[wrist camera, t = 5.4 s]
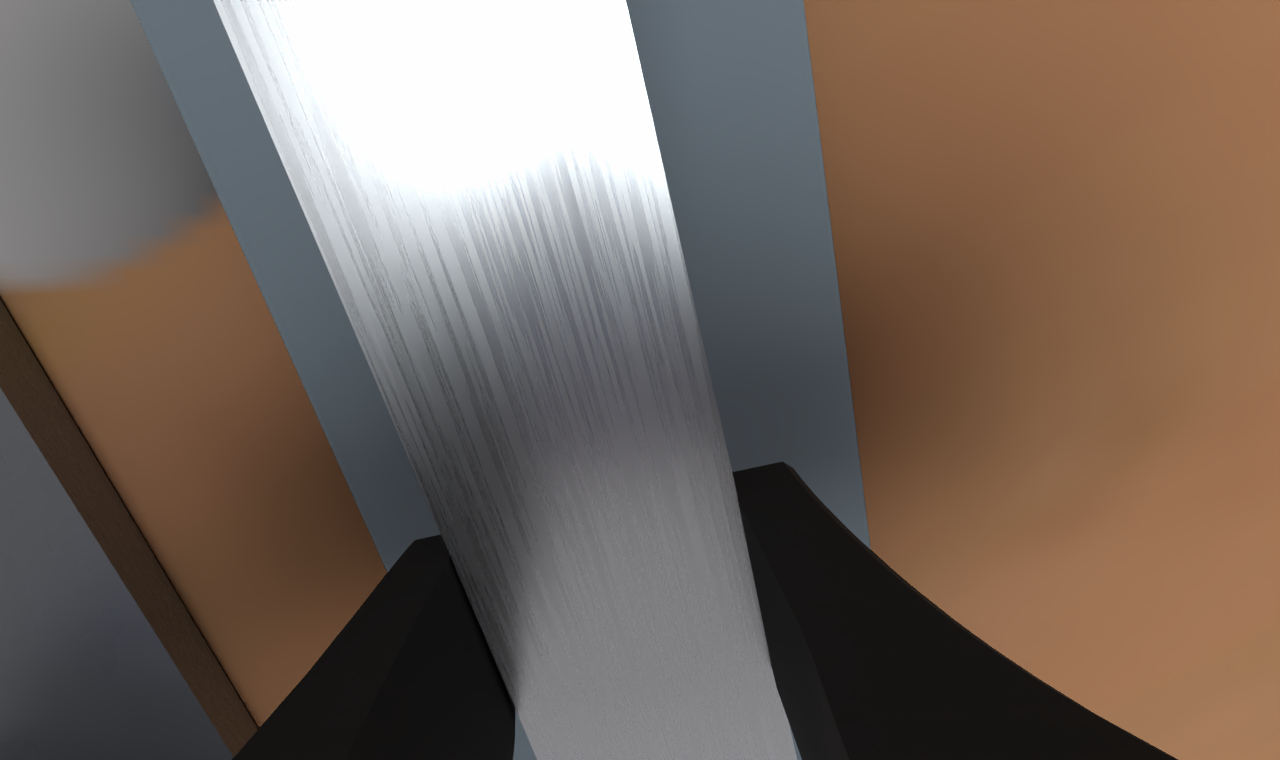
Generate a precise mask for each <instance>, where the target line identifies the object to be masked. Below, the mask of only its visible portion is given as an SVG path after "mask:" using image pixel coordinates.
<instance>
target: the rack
mask: <svg viewBox="0 0 1280 760" xmlns="http://www.w3.org/2000/svg"><path fill="white" fill-rule="evenodd" d="M257 730H258V728H257V727H256V725H255V723H254V722H253V720H252V718H251V717H250V715H249V713H248V712H247V710H246V708H245V707H244V705H243V703H242V702H241V700H240V698H239V697H238V695H237V693H236V692H235V690H234V688H233V687H232V685H231V683H230V682H229V680H228V678H227V677H226V675H225V673H224V672H223V670H222V668H221V667H220V665H219V663H218V662H217V660H216V658H215V657H214V655H213V653H212V652H211V650H210V648H209V647H208V645H207V643H206V642H205V640H204V638H203V637H202V635H201V633H200V632H199V630H198V628H197V627H196V625H195V623H194V622H193V620H192V618H191V617H190V615H189V613H188V612H187V610H186V608H185V607H184V605H183V603H182V602H181V600H180V598H179V597H178V595H177V593H176V592H175V590H174V588H173V587H172V585H171V583H170V582H169V580H168V578H167V577H166V575H165V573H164V572H163V570H162V568H161V567H160V565H159V563H158V562H157V560H156V558H155V557H154V555H153V553H152V552H151V550H150V548H149V547H148V545H147V543H146V542H145V540H144V538H143V537H142V535H141V533H140V532H139V530H138V528H137V527H136V525H135V523H134V522H133V520H132V518H131V517H130V515H129V513H128V512H127V510H126V508H125V507H124V505H123V503H122V502H121V500H120V498H119V497H118V495H117V493H116V492H115V490H114V488H113V487H112V485H111V483H110V482H109V480H108V478H107V477H106V475H105V473H104V472H103V470H102V468H101V467H100V465H99V463H98V462H97V460H96V458H95V457H94V455H93V453H92V452H91V450H90V448H89V447H88V445H87V443H86V442H85V440H84V438H83V437H82V435H81V433H80V432H79V430H78V428H77V427H76V425H75V423H74V422H73V420H72V418H71V417H70V415H69V413H68V412H67V410H66V408H65V407H64V405H63V403H62V402H61V400H60V398H59V397H58V395H57V393H56V392H55V390H54V388H53V387H52V385H51V383H50V382H49V380H48V378H47V377H46V375H45V373H44V372H43V370H42V368H41V367H40V365H39V363H38V362H37V360H36V358H35V357H34V355H33V353H32V352H31V350H30V348H29V347H28V345H27V343H26V342H25V340H24V338H23V337H22V335H21V333H20V332H19V330H18V328H17V327H16V325H15V323H14V322H13V320H12V318H11V317H10V315H9V313H8V312H7V310H6V308H5V307H4V305H3V303H2V302H1V300H0V760H232V758H233V757H234V756H235V755H236V754H237V753H238V752H239V751H240V750H241V749H242V748H243V746H244V745H245V744H246V743H247V742H248V741H249V740H250V738H251V737H252V736H253V735H254V734H255V733H256V732H257Z"/></svg>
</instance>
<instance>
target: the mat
mask: <svg viewBox="0 0 1280 760" xmlns="http://www.w3.org/2000/svg"><path fill="white" fill-rule="evenodd" d="M130 1H131V3H132V5H133V8H134V10H135V12H136V14H137V17H138V19H139V21H140V23H141V25H142V28H143V30H144V32H145V34H146V37H147V39H148V41H149V43H150V45H151V48H152V50H153V52H154V54H155V57H156V59H157V61H158V63H159V66H160V68H161V70H162V72H163V74H164V77H165V79H166V81H167V83H168V86H169V88H170V90H171V92H172V94H173V97H174V99H175V101H176V103H177V105H178V108H179V110H180V112H181V115H182V117H183V119H184V121H185V123H186V126H187V128H188V130H189V132H190V134H191V137H192V139H193V141H194V143H195V145H196V148H197V150H198V152H199V154H200V157H201V159H202V161H203V163H204V166H205V168H206V170H207V172H208V174H209V177H210V179H211V181H212V183H213V186H214V188H215V190H216V192H217V195H218V197H219V199H220V201H221V203H222V206H223V208H224V210H225V212H226V215H227V217H228V219H229V221H230V224H231V226H232V228H233V230H234V232H235V235H236V237H237V239H238V241H239V244H240V246H241V248H242V250H243V252H244V255H245V257H246V259H247V261H248V264H249V266H250V268H251V270H252V272H253V275H254V277H255V279H256V281H257V284H258V286H259V288H260V290H261V292H262V295H263V297H264V299H265V301H266V304H267V306H268V308H269V310H270V312H271V315H272V317H273V319H274V321H275V324H276V326H277V328H278V330H279V332H280V335H281V337H282V339H283V341H284V344H285V346H286V348H287V350H288V353H289V355H290V357H291V359H292V361H293V364H294V366H295V368H296V370H297V373H298V375H299V377H300V379H301V381H302V384H303V386H304V388H305V390H306V393H307V395H308V397H309V399H310V401H311V404H312V406H313V408H314V410H315V413H316V415H317V417H318V419H319V421H320V424H321V426H322V428H323V430H324V433H325V435H326V437H327V439H328V441H329V444H330V446H331V448H332V450H333V453H334V455H335V457H336V459H337V461H338V464H339V466H340V468H341V470H342V473H343V475H344V477H345V479H346V481H347V484H348V486H349V488H350V490H351V493H352V495H353V497H354V499H355V502H356V504H357V506H358V508H359V510H360V513H361V515H362V517H363V519H364V522H365V524H366V526H367V528H368V530H369V533H370V535H371V537H372V539H373V542H374V544H375V546H376V548H377V550H378V553H379V555H380V557H381V559H382V562H383V564H384V566H385V568H386V570H387V573H388V571H389V570H390V569H391V568H392V566H393V565H394V564H395V563H396V561H397V560H398V559H399V558H400V556H401V555H402V554H403V553H404V552H405V550H406V549H407V548H408V547H409V546H410V545H411V544H412V542H413V541H414V540H417V539H422V538H427V537H431V536H436V535H441V533H440V531H439V528H438V526H437V524H436V521H435V519H434V517H433V514H432V512H431V510H430V507H429V505H428V503H427V500H426V498H425V496H424V493H423V491H422V489H421V486H420V484H419V482H418V479H417V477H416V474H415V472H414V470H413V467H412V465H411V463H410V460H409V458H408V456H407V453H406V451H405V449H404V446H403V444H402V442H401V439H400V437H399V435H398V432H397V430H396V428H395V425H394V423H393V421H392V418H391V416H390V414H389V411H388V409H387V407H386V404H385V402H384V400H383V397H382V395H381V392H380V390H379V388H378V385H377V383H376V381H375V378H374V376H373V374H372V371H371V369H370V367H369V364H368V362H367V360H366V357H365V355H364V353H363V350H362V348H361V346H360V343H359V341H358V339H357V336H356V334H355V332H354V329H353V327H352V325H351V322H350V320H349V318H348V315H347V313H346V310H345V308H344V306H343V303H342V301H341V299H340V296H339V294H338V292H337V289H336V287H335V285H334V282H333V280H332V278H331V275H330V273H329V271H328V268H327V266H326V264H325V261H324V259H323V257H322V254H321V252H320V250H319V247H318V245H317V243H316V240H315V238H314V235H313V233H312V231H311V228H310V226H309V224H308V221H307V219H306V217H305V214H304V212H303V210H302V207H301V205H300V203H299V200H298V198H297V196H296V193H295V191H294V189H293V186H292V184H291V182H290V179H289V177H288V175H287V172H286V170H285V168H284V165H283V163H282V161H281V158H280V156H279V153H278V151H277V149H276V146H275V144H274V142H273V139H272V137H271V135H270V132H269V130H268V128H267V125H266V123H265V121H264V118H263V116H262V114H261V111H260V109H259V107H258V104H257V102H256V100H255V97H254V95H253V93H252V90H251V88H250V86H249V83H248V81H247V78H246V76H245V74H244V71H243V69H242V67H241V64H240V62H239V60H238V57H237V55H236V53H235V50H234V48H233V46H232V43H231V41H230V39H229V36H228V34H227V32H226V29H225V27H224V25H223V22H222V20H221V18H220V15H219V13H218V11H217V8H216V6H215V4H214V1H213V0H130ZM626 4H627V8H628V13H629V17H630V22H631V26H632V31H633V35H634V39H635V44H636V48H637V53H638V57H639V62H640V66H641V70H642V75H643V79H644V84H645V88H646V93H647V97H648V101H649V106H650V110H651V115H652V119H653V123H654V128H655V132H656V137H657V141H658V146H659V150H660V154H661V159H662V163H663V168H664V172H665V177H666V181H667V185H668V190H669V194H670V199H671V203H672V208H673V212H674V216H675V221H676V225H677V230H678V234H679V239H680V243H681V247H682V252H683V256H684V261H685V265H686V270H687V274H688V278H689V283H690V287H691V292H692V296H693V301H694V305H695V309H696V314H697V318H698V323H699V327H700V332H701V336H702V340H703V345H704V349H705V354H706V358H707V362H708V367H709V371H710V376H711V380H712V385H713V389H714V393H715V398H716V402H717V407H718V411H719V416H720V420H721V424H722V429H723V433H724V438H725V442H726V447H727V451H728V455H729V460H730V464H731V469H732V472H735V471H740V470H745V469H749V468H754V467H759V466H763V465H768V464H773V463H777V462H782V461H783V462H784V463H786V464H788V465H789V466H791V467H792V468H794V469H795V471H796V472H797V473H798V475H799V476H800V477H801V478H802V480H803V481H804V482H805V483H806V485H807V486H808V487H809V488H810V489H811V490H812V491H813V493H814V494H815V495H816V496H817V497H818V498H819V499H820V500H821V501H822V502H823V503H824V505H825V506H826V507H827V508H828V509H829V510H830V511H831V512H832V513H833V514H834V515H835V516H836V517H837V518H838V519H839V520H840V521H841V522H842V523H843V524H844V525H845V526H846V527H847V528H848V529H849V530H850V531H851V532H852V533H853V534H854V535H855V536H856V537H857V538H858V539H859V540H861V541H862V542H863V543H864V544H865V545H866V546H867V547H868V548H869V549H870V550H871V548H870V540H869V532H868V524H867V515H866V507H865V499H864V491H863V483H862V475H861V467H860V458H859V450H858V442H857V434H856V426H855V418H854V409H853V401H852V393H851V385H850V377H849V369H848V360H847V352H846V344H845V336H844V328H843V320H842V312H841V303H840V295H839V287H838V279H837V271H836V263H835V254H834V246H833V238H832V230H831V222H830V214H829V206H828V197H827V189H826V181H825V173H824V165H823V157H822V148H821V140H820V132H819V124H818V116H817V108H816V99H815V91H814V83H813V75H812V67H811V59H810V51H809V42H808V34H807V26H806V18H805V10H804V2H803V0H626ZM789 725H790V724H789ZM790 730H791V727H790ZM791 734H792V739H793V743H794V748H795V752H796V756H797V760H802V758H801V756H800V753H799V750H798V747H797V744H796V741H795V739H794V736H793V733H792V730H791ZM513 760H537V758H536V756H535V753H534V751H533V749H532V746H531V744H530V742H529V739H528V737H527V735H526V732H525V730H524V728H523V725H522V723H521V721H520V718H519V716H518V713H517V711H516V709H515V745H514V754H513Z"/></svg>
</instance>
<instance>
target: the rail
mask: <svg viewBox="0 0 1280 760" xmlns="http://www.w3.org/2000/svg"><path fill="white" fill-rule="evenodd" d="M213 1H214V4H215V6H216V8H217V11H218V13H219V15H220V18H221V20H222V22H223V25H224V27H225V29H226V32H227V34H228V36H229V39H230V41H231V43H232V46H233V48H234V50H235V53H236V55H237V57H238V60H239V62H240V64H241V67H242V69H243V71H244V74H245V76H246V78H247V81H248V83H249V86H250V88H251V90H252V93H253V95H254V97H255V100H256V102H257V104H258V107H259V109H260V111H261V114H262V116H263V118H264V121H265V123H266V125H267V128H268V130H269V132H270V135H271V137H272V139H273V142H274V144H275V146H276V149H277V151H278V153H279V156H280V158H281V161H282V163H283V165H284V168H285V170H286V172H287V175H288V177H289V179H290V182H291V184H292V186H293V189H294V191H295V193H296V196H297V198H298V200H299V203H300V205H301V207H302V210H303V212H304V214H305V217H306V219H307V221H308V224H309V226H310V228H311V231H312V233H313V235H314V238H315V240H316V243H317V245H318V247H319V250H320V252H321V254H322V257H323V259H324V261H325V264H326V266H327V268H328V271H329V273H330V275H331V278H332V280H333V282H334V285H335V287H336V289H337V292H338V294H339V296H340V299H341V301H342V303H343V306H344V308H345V310H346V313H347V315H348V318H349V320H350V322H351V325H352V327H353V329H354V332H355V334H356V336H357V339H358V341H359V343H360V346H361V348H362V350H363V353H364V355H365V357H366V360H367V362H368V364H369V367H370V369H371V371H372V374H373V376H374V378H375V381H376V383H377V385H378V388H379V390H380V392H381V395H382V397H383V400H384V402H385V404H386V407H387V409H388V411H389V414H390V416H391V418H392V421H393V423H394V425H395V428H396V430H397V432H398V435H399V437H400V439H401V442H402V444H403V446H404V449H405V451H406V453H407V456H408V458H409V460H410V463H411V465H412V467H413V470H414V472H415V474H416V477H417V479H418V482H419V484H420V486H421V489H422V491H423V493H424V496H425V498H426V500H427V503H428V505H429V507H430V510H431V512H432V514H433V517H434V519H435V521H436V524H437V526H438V528H439V531H440V533H441V535H442V538H443V540H444V542H445V545H446V547H447V549H448V552H449V554H450V557H451V559H452V561H453V564H454V566H455V568H456V571H457V573H458V575H459V578H460V580H461V582H462V585H463V587H464V589H465V592H466V594H467V596H468V599H469V601H470V603H471V606H472V608H473V610H474V613H475V615H476V617H477V620H478V622H479V624H480V627H481V629H482V631H483V634H484V636H485V639H486V641H487V643H488V646H489V648H490V650H491V653H492V655H493V657H494V660H495V662H496V664H497V667H498V669H499V671H500V674H501V676H502V678H503V681H504V683H505V685H506V688H507V690H508V692H509V695H510V697H511V699H512V702H513V704H514V706H515V709H516V711H517V713H518V716H519V718H520V721H521V723H522V725H523V728H524V730H525V732H526V735H527V737H528V739H529V742H530V744H531V746H532V749H533V751H534V753H535V756H536V758H537V760H797V756H796V752H795V748H794V743H793V739H792V734H791V730H790V725H789V722H788V719H787V716H786V713H785V710H784V707H783V704H782V702H781V699H780V696H779V693H778V690H777V687H776V683H775V679H774V675H773V670H772V666H771V661H770V656H769V651H768V646H767V641H766V636H765V631H764V626H763V621H762V616H761V611H760V607H759V602H758V597H757V592H756V587H755V582H754V577H753V572H752V567H751V562H750V557H749V553H748V548H747V543H746V538H745V533H744V528H743V523H742V518H741V513H740V508H739V503H738V499H737V497H738V495H737V491H736V486H735V482H734V478H733V473H732V469H731V464H730V460H729V455H728V451H727V447H726V442H725V438H724V433H723V429H722V424H721V420H720V416H719V411H718V407H717V402H716V398H715V393H714V389H713V385H712V380H711V376H710V371H709V367H708V362H707V358H706V354H705V349H704V345H703V340H702V336H701V332H700V327H699V323H698V318H697V314H696V309H695V305H694V301H693V296H692V292H691V287H690V283H689V278H688V274H687V270H686V265H685V261H684V256H683V252H682V247H681V243H680V239H679V234H678V230H677V225H676V221H675V216H674V212H673V208H672V203H671V199H670V194H669V190H668V185H667V181H666V177H665V172H664V168H663V163H662V159H661V154H660V150H659V146H658V141H657V137H656V132H655V128H654V123H653V119H652V115H651V110H650V106H649V101H648V97H647V93H646V88H645V84H644V79H643V75H642V70H641V66H640V62H639V57H638V53H637V48H636V44H635V39H634V35H633V31H632V26H631V22H630V17H629V13H628V8H627V4H626V0H213Z"/></svg>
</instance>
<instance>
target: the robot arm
mask: <svg viewBox="0 0 1280 760" xmlns="http://www.w3.org/2000/svg"><path fill="white" fill-rule="evenodd" d="M732 473H733V478H734V482H735V486H736V491H737V495H738V497H737V499H738V503H739V508H740V513H741V518H742V523H743V528H744V533H745V538H746V543H747V548H748V553H749V557H750V562H751V567H752V572H753V577H754V582H755V587H756V592H757V597H758V602H759V607H760V611H761V616H762V621H763V626H764V631H765V636H766V641H767V646H768V651H769V656H770V661H771V666H772V670H773V675H774V679H775V683H776V687H777V690H778V693H779V696H780V699H781V702H782V704H783V707H784V710H785V713H786V716H787V719H788V722H789V724H790V727H791V730H792V733H793V736H794V739H795V741H796V744H797V747H798V750H799V753H800V756H801V758H802V760H1178V759H1176V758H1174V757H1172V756H1170V755H1169V754H1167V753H1165V752H1163V751H1161V750H1159V749H1158V748H1156V747H1154V746H1152V745H1150V744H1149V743H1147V742H1145V741H1143V740H1141V739H1140V738H1138V737H1136V736H1134V735H1132V734H1130V733H1129V732H1127V731H1125V730H1123V729H1121V728H1120V727H1118V726H1116V725H1114V724H1112V723H1110V722H1109V721H1107V720H1105V719H1103V718H1101V717H1100V716H1098V715H1096V714H1094V713H1093V712H1091V711H1089V710H1088V709H1086V708H1084V707H1083V706H1081V705H1080V704H1078V703H1076V702H1075V701H1073V700H1072V699H1070V698H1068V697H1067V696H1065V695H1064V694H1062V693H1060V692H1059V691H1057V690H1056V689H1054V688H1052V687H1051V686H1049V685H1048V684H1046V683H1044V682H1043V681H1041V680H1040V679H1038V678H1036V677H1035V676H1033V675H1032V674H1031V673H1029V672H1028V671H1026V670H1025V669H1023V668H1022V667H1020V666H1019V665H1017V664H1016V663H1014V662H1013V661H1011V660H1010V659H1008V658H1007V657H1005V656H1004V655H1002V654H1001V653H999V652H998V651H996V650H995V649H994V648H992V647H991V646H989V645H988V644H987V643H985V642H984V641H982V640H981V639H980V638H978V637H977V636H975V635H974V634H973V633H971V632H970V631H969V630H967V629H966V628H965V627H963V626H962V625H961V624H959V623H958V622H957V621H955V620H954V619H953V618H951V617H950V616H949V615H947V614H946V613H945V612H944V611H942V610H941V609H940V608H939V607H937V606H936V605H935V604H934V603H932V602H931V601H930V600H929V599H927V598H926V597H925V596H924V595H922V594H921V593H920V592H919V591H917V590H916V589H915V588H914V587H913V586H911V585H910V584H909V583H908V582H907V581H905V580H904V579H903V578H902V577H901V576H900V575H898V574H897V573H896V572H895V571H894V570H893V569H891V568H890V567H889V566H888V565H887V564H886V563H885V562H884V561H883V560H882V559H880V558H879V557H878V556H877V555H876V554H875V553H874V552H873V551H872V550H870V549H869V548H868V547H867V546H866V545H865V544H864V543H863V542H862V541H861V540H859V539H858V538H857V537H856V536H855V535H854V534H853V533H852V532H851V531H850V530H849V529H848V528H847V527H846V526H845V525H844V524H843V523H842V522H841V521H840V520H839V519H838V518H837V517H836V516H835V515H834V514H833V513H832V512H831V511H830V510H829V509H828V508H827V507H826V506H825V505H824V503H823V502H822V501H821V500H820V499H819V498H818V497H817V496H816V495H815V494H814V493H813V491H812V490H811V489H810V488H809V487H808V486H807V485H806V483H805V482H804V481H803V480H802V478H801V477H800V476H799V475H798V473H797V472H796V471H795V469H794V468H792V467H791V466H789V465H788V464H786V463H784V462H783V461H782V462H777V463H773V464H768V465H763V466H759V467H754V468H749V469H745V470H740V471H735V472H732ZM514 745H515V706H514V704H513V702H512V699H511V697H510V695H509V692H508V690H507V688H506V685H505V683H504V681H503V678H502V676H501V674H500V671H499V669H498V667H497V664H496V662H495V660H494V657H493V655H492V653H491V650H490V648H489V646H488V643H487V641H486V639H485V636H484V634H483V631H482V629H481V627H480V624H479V622H478V620H477V617H476V615H475V613H474V610H473V608H472V606H471V603H470V601H469V599H468V596H467V594H466V592H465V589H464V587H463V585H462V582H461V580H460V578H459V575H458V573H457V571H456V568H455V566H454V564H453V561H452V559H451V557H450V554H449V552H448V549H447V547H446V545H445V542H444V540H443V538H442V535H436V536H431V537H427V538H422V539H417V540H414V541H413V542H412V544H411V545H410V546H409V547H408V548H407V549H406V550H405V552H404V553H403V554H402V555H401V556H400V558H399V559H398V560H397V561H396V563H395V564H394V565H393V566H392V568H391V569H390V570H389V571H388V573H387V574H386V575H385V576H384V578H383V579H382V580H381V582H380V583H379V584H378V585H377V587H376V588H375V589H374V591H373V592H372V593H371V594H370V596H369V597H368V598H367V599H366V601H365V602H364V603H363V605H362V606H361V607H360V608H359V610H358V611H357V612H356V614H355V615H354V616H353V617H352V619H351V620H350V621H349V622H348V624H347V625H346V626H345V627H344V628H343V630H342V631H341V632H340V633H339V635H338V636H337V637H336V638H335V640H334V641H333V642H332V643H331V645H330V646H329V647H328V648H327V650H326V651H325V652H324V653H323V655H322V656H321V657H320V658H319V660H318V661H317V662H316V663H315V665H314V666H313V667H312V668H311V670H310V671H309V672H308V673H307V674H306V676H305V677H304V678H303V679H302V680H301V681H300V682H299V684H298V685H297V686H296V687H295V688H294V689H293V690H292V692H291V693H290V694H289V695H288V696H287V697H286V698H285V700H284V701H283V702H282V703H281V704H280V705H279V706H278V708H277V709H276V710H275V711H274V712H273V713H272V714H271V716H270V717H269V718H268V719H267V720H266V721H265V722H264V724H263V725H262V726H261V727H260V728H259V729H258V730H257V732H256V733H255V734H254V735H253V736H252V737H251V738H250V740H249V741H248V742H247V743H246V744H245V745H244V746H243V748H242V749H241V750H240V751H239V752H238V753H237V754H236V755H235V756H234V757H233V758H232V760H513V754H514Z"/></svg>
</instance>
